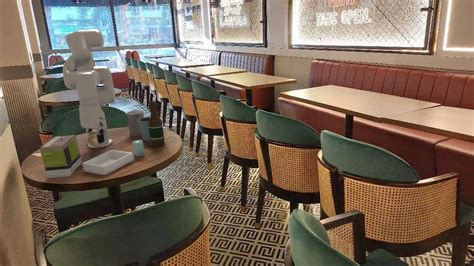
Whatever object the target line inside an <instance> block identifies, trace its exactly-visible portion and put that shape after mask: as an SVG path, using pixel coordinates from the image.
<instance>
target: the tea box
mask: <svg viewBox="0 0 474 266" xmlns="http://www.w3.org/2000/svg"><path fill="white" fill-rule="evenodd" d="M39 150H40V154H41V158H42V161H43V166H44V169H45V174H46V177H47V178H48V179H53V178H54V179H55V178H65V177H70V176H72V174H73V173H74V172H75V171H76V170H77V169H78V168H79V167H80V166H81V165H82V163H83V162H82V161H83V160H82V157H81V153H80V149H79V145H78V139H77V137H76V134H72V135H61V136H53V137H52V138H51V139H50V140H48V141H47V142H45V143H44V144H43V145H42V146H40V147H39Z"/></svg>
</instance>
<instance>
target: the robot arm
mask: <svg viewBox="0 0 474 266" xmlns="http://www.w3.org/2000/svg"><path fill="white" fill-rule="evenodd" d="M65 42H66V45H67V47H68V49H69V50H70V52H71V54H70V55H69V56H68V57H67V59H65V61H64V63H63V65H62V76H63V82H64V86H65V87H66V88H67V89H69V90H76V91H77V95H78V100H79V101H78V102H79V108H78V113H79V121H80V126H81V128H82V129H84V131H85V134H87V133H88V132H91V131H93V130H96V131H97V133H98V135H97V138H98V143H99V144H98V145H94V144H89V143H88V142H87V143H88V144H87V146H88V148H91V149H97V148H99V149H100V148H105V147H107V146H110V145H111V144H112V143H113V139H110V138H109V133H108V125H107V123H106V122H107V121H106V116H105V112H104V111H103V109H102V106H103V105H104V106H105V105H109V104H110V105H111V104H114V103H115V101H116V92H115V86H114V82H113V76H112V72H111V70H110V68H109V67H108V66H105V65H99V66H96V65H95V60H94V56H93V51H92V50H95V49H96V50H97V49H98V50H99V49H103V47H104V45H105V39H104V36H103V33H102V32H101V31H100V30H99V29H83V30H81V29H78V30H75V31H73V32H70V33H67V34H66V35H65ZM76 69H77V70H76ZM98 85H102V86H99V87H97V86H98ZM99 130H100V131H99ZM104 135H105V139H104ZM105 140H106V141H105ZM86 141H88V138H87V137H86Z"/></svg>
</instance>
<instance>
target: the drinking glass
mask: <svg viewBox="0 0 474 266" xmlns="http://www.w3.org/2000/svg"><path fill="white" fill-rule="evenodd" d="M149 119H150V116H144V118H141V119H139V120H138V122H139V126H140V128H141V133H142V135H141V137H142V141H143V140H144V141H143V142H150V135H149V127H148V122H149Z"/></svg>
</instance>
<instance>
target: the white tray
mask: <svg viewBox="0 0 474 266" xmlns="http://www.w3.org/2000/svg"><path fill="white" fill-rule="evenodd" d="M134 161H135V158H134V152H130V151H123V150H116V149H110V150H109V151H106V152H103V153H102V154H100V155H97V156H95V157H92V158H91V159H89V160H86V161H84V162H82V164H81V165H82V169H83V172H86V173H92V174H97V175H103V176H108V175H110V174H112V173H114V172H115V171H118V170H119V169H121V168H123V167H126V166H127V165H129V164H130V163H132V162H134Z"/></svg>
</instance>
